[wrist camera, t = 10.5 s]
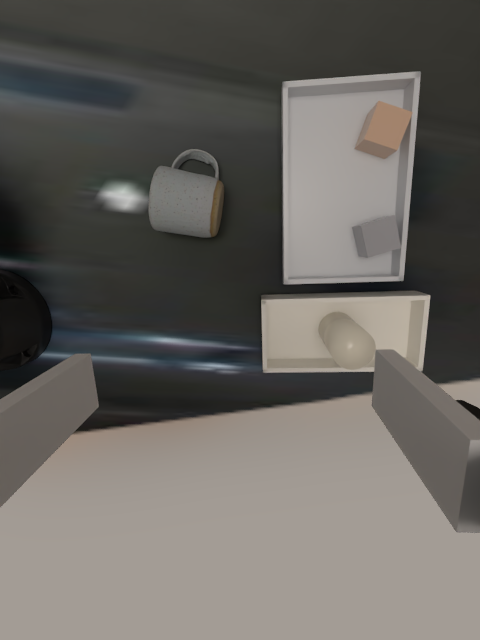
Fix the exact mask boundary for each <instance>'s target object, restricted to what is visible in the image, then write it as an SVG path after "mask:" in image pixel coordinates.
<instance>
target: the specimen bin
mask: <svg viewBox="0 0 480 640" xmlns="http://www.w3.org/2000/svg"><path fill="white" fill-rule="evenodd" d="M429 304H430V295H428V294H425V293H421V292H418V291H382V292H345V293H309V294H272V295H261V309H262V353H263V373H278V372H374V367H375V355H374V357H373V359H372V360H371V361H370V362H369V363H368V364H367V365H366V366H364V367H362V368H359V369H354V370H350V369H345V368H343V367H341V366H339V365H338V364H337V363H336V362H335V361H334V359H333V357H332V356H331V354H330V352H329V351H328V349H327V347H326V346H325V344H324V342H323V341H322V339H321V338H320V335H319V332H318V328H319V324H320V322H321V320H322V319H323V318H324V317H325V316H326V315H327V314H329V313H332V312H342V313H345V314H347V315H348V316H349V317H350V318H352V319H353V320H354V321H355V322H356V323H357V324H358V325H360V326H361V327H362V328H363V329H364V330H365V331H367V332H368V333H369V334H370V335H371V336H372V337H373V339H374V341H375V345H376V350H383V349H394V350H395V351H396V352H397V353H399V354H400V355H401V356H402V357H403V358H405V359H406V360H407V361H408V362H409V363H411V364H412V365H413V366H414V367H416V368H417V369H418V370H419V371H423V361H424V352H425V342H426V333H427V323H428V313H429ZM376 350H375V352H376Z"/></svg>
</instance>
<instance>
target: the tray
mask: <svg viewBox="0 0 480 640" xmlns="http://www.w3.org/2000/svg"><path fill="white" fill-rule="evenodd" d="M420 76H421V71H419V72H405V73H392V74H379V75H366V76H353V77H339V78H326V79H313V80H300V81H287V82H283V83H282V90H281V150H282V282H283V284H314V283H347V282H381V281H403V280H404V268H405V256H406V244H407V232H408V220H409V208H410V196H411V184H412V172H413V160H414V148H415V136H416V124H417V112H418V100H419V88H420ZM378 101H381V102H384V103H387V104H390V105H393V106H396V107H399V108H402V109H405V110H408V111H411V112H413V113H412V116H411V118H410V121H409V123H408V126H407V128H406V131H405V133H404V136H403V138H402V140H401V143H400V145H399V148H398V150H397V151H396V152H394V153H393V154H391V155H390V156H388V157H387V158H385V159H383V158H380V157H377V156H374V155H371V154H368V153H365V152H362V151H359V150H356V149H354V148H355V146H356V143H357V140H358V137H359V135H360V132H361V129H362V127H363V124H364V121H365V119H366V116H367V114H368V113H369V112H370V110H371V109H372V108H373V107H374V106H375V104H376V103H377V102H378ZM391 215H395V219H396V224H397V229H398V234H399V240H400V245H401V248H399V249H396V250H392V251H389V252H386V253H382V254H379V255H375V256H372V257H369V258H366V257H360V256H358V252H357V248H356V243H355V239H354V234H353V230H352V227H353V226H356V225H359V224H362V223H366V222H369V221H372V220H375V219H378V218H382V217H386V216H391Z"/></svg>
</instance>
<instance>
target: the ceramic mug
mask: <svg viewBox="0 0 480 640" xmlns="http://www.w3.org/2000/svg"><path fill="white" fill-rule="evenodd" d="M189 159H196V160H199V161H203V162H205V163H206V164H211V165H212V166H213V168H214V170H215V178H213V177H210V176H206V175H201V174H195V173H191V172H187V171H183V170H179V169H178V168H179V167H180V165H181V164H182V163H183V162H185V161H187V160H189ZM223 202H224V185H223V183H222V182H221V181H219V168H218V164H217V162H216V160H215V159H214V157H213V156H212V155H210V154H209V153H207V152H205V151H202V150H198V149H190V150H187V151H185V152H183V153H181V154H180V155H179V156H178V157H177V158H176V159H175V161H174V163H173V165H172V167H171V168H170V167H167V166H159V167H158V168H157V169H156V171H155V173H154V175H153V179H152V182H151V186H150V193H149V219H150V223H151V226H152V227H153V229H154V230H156V231H163V232H170V233H176V234H183V235H190V236H196V237H202V238H206V237H214V236H215V235H217V233H218V230H219V227H220V222H221V217H222V210H223Z"/></svg>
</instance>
